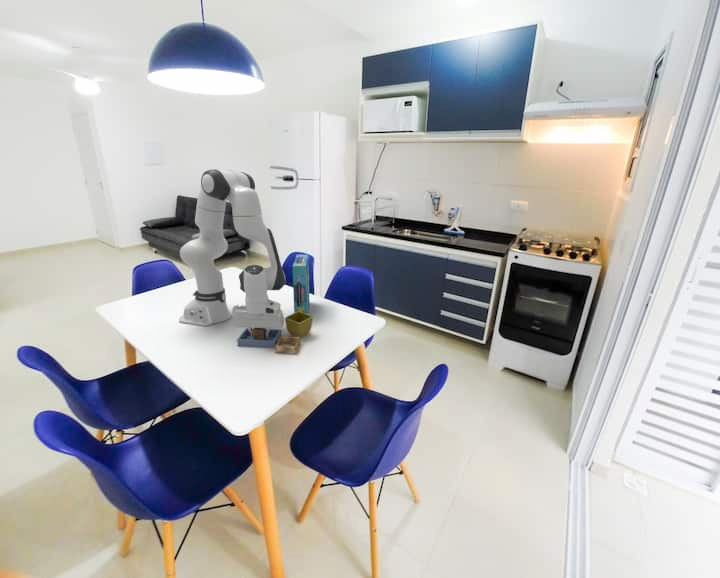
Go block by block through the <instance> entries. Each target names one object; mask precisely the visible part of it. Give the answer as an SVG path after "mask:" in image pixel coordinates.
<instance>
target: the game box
mask: <svg viewBox="0 0 720 578" xmlns="http://www.w3.org/2000/svg"><path fill="white" fill-rule="evenodd" d="M309 263H310V262H309V254H296V256H295V259H294V262H293V263H292V285H293V313H295V312H298V311H299V312H302V313H305V314H308V313H309V308H310V273H309V272H310V271H309V269H310V268H309V265H310V264H309ZM308 315H309V314H308Z"/></svg>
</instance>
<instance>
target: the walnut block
mask: <svg viewBox="0 0 720 578" xmlns="http://www.w3.org/2000/svg"><path fill="white" fill-rule="evenodd" d="M265 332H266V328H254V329H253V336H254V340H266V339H267V337H264V333H265Z"/></svg>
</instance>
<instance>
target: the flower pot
mask: <svg viewBox="0 0 720 578" xmlns="http://www.w3.org/2000/svg"><path fill="white" fill-rule="evenodd" d="M313 319H314V317H313V315H312V314H305V313H302V312H299V311H298V312H295V313H294V312H293V313H292V314H289V315H287V316H285V317H284V324H285V328H286V329H287V331H288V333H289V335H290V337H300V339H302V338H304V337H305V336H308V334H309V333H310V331H311V329H312V325H313Z"/></svg>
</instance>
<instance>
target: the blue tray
mask: <svg viewBox="0 0 720 578" xmlns="http://www.w3.org/2000/svg"><path fill="white" fill-rule="evenodd" d="M252 329H254V328H252ZM267 331H268V330H266V332H267ZM281 336H282V337H283V335H282V329H270V331H269V336H268V337H267V339H266V340H254V337H251V333H250V332H249V331H248V327H245V329H244V330H243V332H241V334H240V336H239V337H238V338H237V339H236V342H237V347H244V348H245V347H246V348H266V349H269V348H270V349H275V346H276V344H277V342H278V340H279V338H280V337H281Z"/></svg>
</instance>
